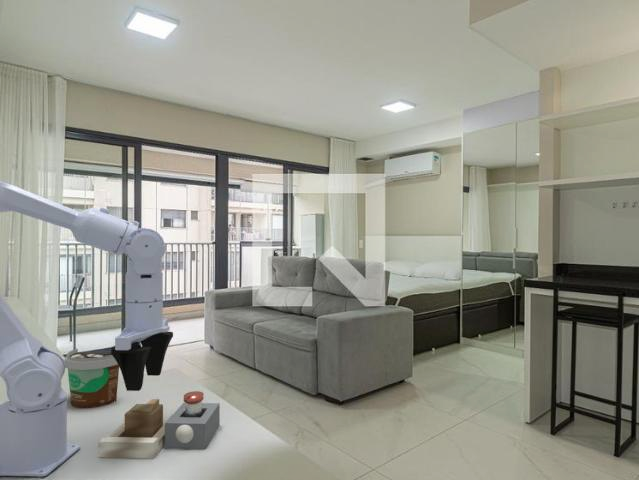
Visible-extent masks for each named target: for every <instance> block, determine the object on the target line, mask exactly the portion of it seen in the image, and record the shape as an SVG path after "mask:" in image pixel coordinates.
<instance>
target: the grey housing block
mask: <svg viewBox="0 0 639 480" xmlns="http://www.w3.org/2000/svg"><path fill="white" fill-rule="evenodd" d="M220 410H221V409H220V402H217V403H215V402H210V403H209V402H202V416H201V418H200V417H186V403H184V402H182V404H181V405H180V406H179V407H178V408H177V410H175V411H174V413H172V415H171V416H170V417H168V419H167V420H166V421H165V422H164V424H165V446H164V449H178V450H179V449H181V450H183V449H187V450H193V449H194V450H206V448H207V447H208V445H209V444H210V442H211V441H212V439H213V437H214V436H215V434H216V432H217V431H218V429H219V427H220V422H221V421H220Z"/></svg>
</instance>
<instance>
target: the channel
mask: <svg viewBox="0 0 639 480" xmlns="http://www.w3.org/2000/svg"><path fill="white" fill-rule="evenodd" d="M183 403H185V402H184V401H183ZM145 404H160V399H159V398H151V399H150V400H149V401H148V402H146V403H145ZM163 448H165V423H163V426H162V427H161V429H160V430H159V431H158V432H157V433H156V434H155V435H154V436H153V437H152V438H142V437H125V422H123V423H122V424H121V425H120V426H119V427H118V428H116V430H114V431H113V432H112V433H111V434H109V436H103V437H102V438H101V439H100V440H99V441H98V442H97V453H98V454H97V456H98V457H97V458H102V459H103V458H107V459H108V458H114V459H115V458H116V459H118V458H120V459H154V458H156V457H157V455H158V454H159V452H161V450H162V449H163Z"/></svg>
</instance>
